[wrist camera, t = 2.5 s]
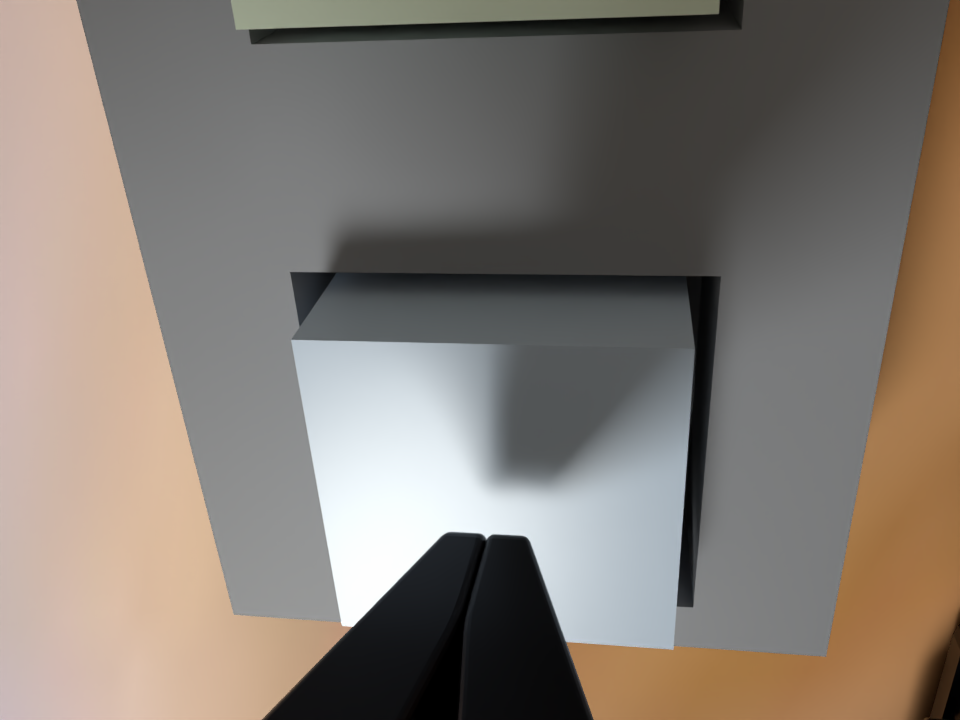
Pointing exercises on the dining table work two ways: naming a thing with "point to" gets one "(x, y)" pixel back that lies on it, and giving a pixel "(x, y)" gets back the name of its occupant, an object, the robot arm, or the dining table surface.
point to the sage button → (447, 11)
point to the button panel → (538, 244)
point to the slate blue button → (506, 433)
